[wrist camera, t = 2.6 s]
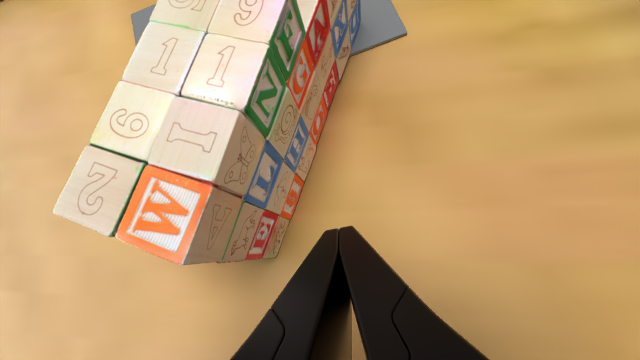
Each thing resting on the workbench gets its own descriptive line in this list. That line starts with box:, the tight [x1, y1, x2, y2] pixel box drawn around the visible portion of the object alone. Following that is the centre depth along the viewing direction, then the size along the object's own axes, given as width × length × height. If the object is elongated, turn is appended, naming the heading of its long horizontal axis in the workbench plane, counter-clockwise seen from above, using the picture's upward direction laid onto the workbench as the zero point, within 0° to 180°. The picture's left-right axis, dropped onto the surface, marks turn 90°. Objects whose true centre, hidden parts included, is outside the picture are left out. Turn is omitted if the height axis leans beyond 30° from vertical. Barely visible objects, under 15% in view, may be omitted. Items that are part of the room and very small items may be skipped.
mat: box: [131, 0, 407, 57], centre depth 28 cm, size 14×24×1 cm, turn 108°
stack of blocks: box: [53, 0, 361, 265], centre depth 19 cm, size 21×6×12 cm, turn 161°
